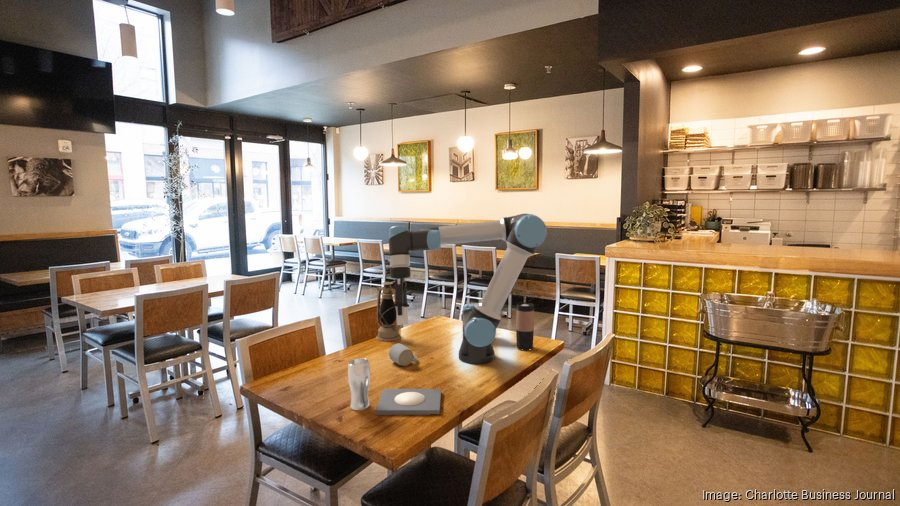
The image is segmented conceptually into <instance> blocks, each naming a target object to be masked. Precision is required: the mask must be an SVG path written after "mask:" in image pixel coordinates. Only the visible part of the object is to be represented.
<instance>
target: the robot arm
mask: <svg viewBox="0 0 900 506" xmlns="http://www.w3.org/2000/svg"><path fill="white" fill-rule="evenodd" d="M547 232H548V229H547V226H546V223H545V221H544V220H543V219H542V218H541V217H539V216H538V215H535V214H532V213H521V214H516V215H512V216H506V217H501V219H500V220H492V221H491V220H490V221H484V222H483V221H482V222H472V223H471V222H470V223H461V224H452V225H443V226H436V227H435V226H433V227H423V228H421V229H420V230H415V231H413V230H409V227H408V226H406V225H393V226H391V227H390V228H389V229H388V249H389V250H388V253H389V258H388V260H387V261H388V262H389V267H390V270H389V272H390V273H389V274H390V276H389V277H390V278H391V279H395V280H394V287H395V288H394V289H395V297H394V307H395V308H396V318H397V320H396V326H397V325H400V326H405V325H408V324H409V315H408V314H409V313H408V308H409V307H410V304H409V303H408V295H407V292H408V289H407V286H408V285H407V282H406V281H405V279H408V278H409V279H410V277H411V268H410V266H411V255H410V252H416V251H434V250H439V249H441V246H442V245H443V246H444V245H446V246H447V245H456V244H465V243H466V244H467V243H475V242H476V243H477V242H485V241H497V240H502V241H504V242H505V243H506V249H505V251H504V254H503V255H502V258H501V260H500V262H499V263H498V265H497V267H496V270H495V272H494V274H493V276H492V278H491V280H490V282H489V284H488V285H487V288H486V289H485V292H484V294H483V295H482V297H481V299H480V301H479V302H478V303H477V302H473V303H471V302H470V303H466V304H463V306H462V310H461V311H462V313H463V321H462V341H461V344H460V347H459V350H458V359H459V360H460V361H462V362H464V363H468V364H473V363H474V365H475V364H476V363H481V364H487V362H488V363H490V361H491V362H493V361H494V360H495V357H496V355H495V354H496V353H495V350H494V346H493V341H494V340H495V338H496V334H497V328H498V326H499V324H500V322H501V320H502V315H501V311H502V310H503V308H504V305H505V303H506V302H507V300H508V297H509V295H510V294H511V292H512V289H514V288H513V287H514V286H515V284H516V282H517V280H518V278H519V275H520V274H521V271H522V270H523V268H524V266H525V264H526V262H527V260H528V258H530V257H532V256H534V255H535V253H536V251H537V250H538V248H539V246H540V245H542V244H543V243H544V241H545V239H546V238H547ZM396 306H397V307H396ZM493 359H494V360H493ZM492 360H493V361H492Z"/></svg>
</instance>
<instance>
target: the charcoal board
mask: <svg viewBox="0 0 900 506" xmlns="http://www.w3.org/2000/svg"><path fill="white" fill-rule="evenodd" d="M441 397H442V389H441V388H383V389H382V391H381V393H380V396H379V399H378V401H377V405H376V408H375V410H374V411H375V412H374V414H375V416H377V415H378V416H383V415H384V416H385V415H386V416H391V415H392V416H394V415H396V416H409V415H411V416H414V415H415V416H416V415H417V416H421V415H423V416H427V415H428V416H429V415H430V414H440V413H441ZM430 416H431V415H430Z"/></svg>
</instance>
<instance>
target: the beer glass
mask: <svg viewBox="0 0 900 506" xmlns="http://www.w3.org/2000/svg"><path fill="white" fill-rule="evenodd" d="M370 380H371V369H370V360H369V359H367V358H364V357H360V358H353V359H350V360H349V361H348V364H347V381H348V385H349V389H350V396H351V397H350V399H351V400H350V407H349V408H350V409H352V410H354V411H364V410H367V409H368V408H369V407H370V400H369V386H370Z"/></svg>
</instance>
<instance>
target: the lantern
mask: <svg viewBox="0 0 900 506" xmlns="http://www.w3.org/2000/svg"><path fill="white" fill-rule="evenodd" d="M389 277H390V276H387V275H386V276H385V282H381V285H383V286H379V285H377V286H376V291H377V300H376V301H377V302H376V324H377V325H378V327H379V328H378V329H377V335H376V337H375V339H376V341H380V342H385V343H386V342H388V343H389V342H395V340H396V341H398V339H399V340H401V338H402V336H401V334H400V332H399V329H400V328H401V325H397V324H396V322H397V318H396V307H397V306H395V307H394V304H395V300H394V298H395V288H393V286H392V285H393V284H394V283H393V282H392V281H391V282H390V281H389ZM387 278H388V281H387V280H386V279H387ZM393 295H394V298H393ZM381 296H382V301H381Z"/></svg>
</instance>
